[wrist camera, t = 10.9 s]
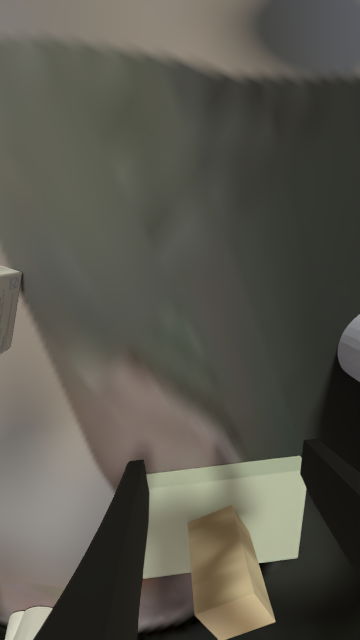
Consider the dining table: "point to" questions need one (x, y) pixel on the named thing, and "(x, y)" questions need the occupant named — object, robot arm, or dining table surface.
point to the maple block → (226, 576)
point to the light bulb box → (8, 304)
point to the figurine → (26, 623)
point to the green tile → (217, 493)
